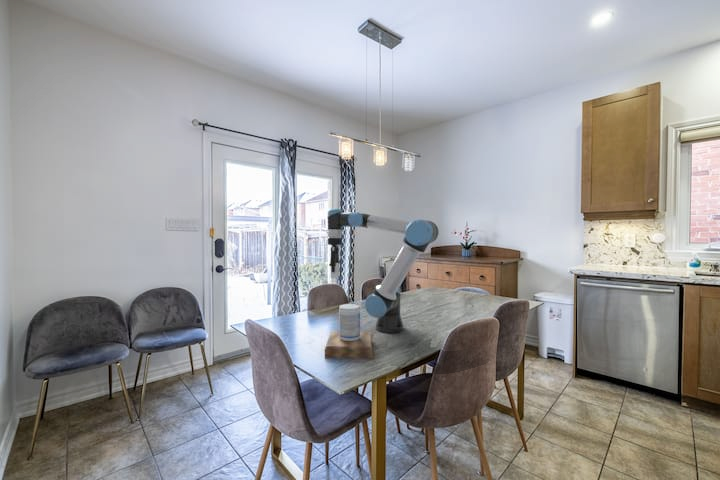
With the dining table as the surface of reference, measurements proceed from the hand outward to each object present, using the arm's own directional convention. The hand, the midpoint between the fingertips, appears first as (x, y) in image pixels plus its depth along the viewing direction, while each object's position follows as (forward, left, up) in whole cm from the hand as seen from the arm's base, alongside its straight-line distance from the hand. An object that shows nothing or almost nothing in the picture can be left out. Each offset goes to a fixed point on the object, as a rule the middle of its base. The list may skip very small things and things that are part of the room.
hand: (334, 276), depth 169 cm
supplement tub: (-10, +30, -24) cm, 40 cm away
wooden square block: (-10, +30, -29) cm, 43 cm away
